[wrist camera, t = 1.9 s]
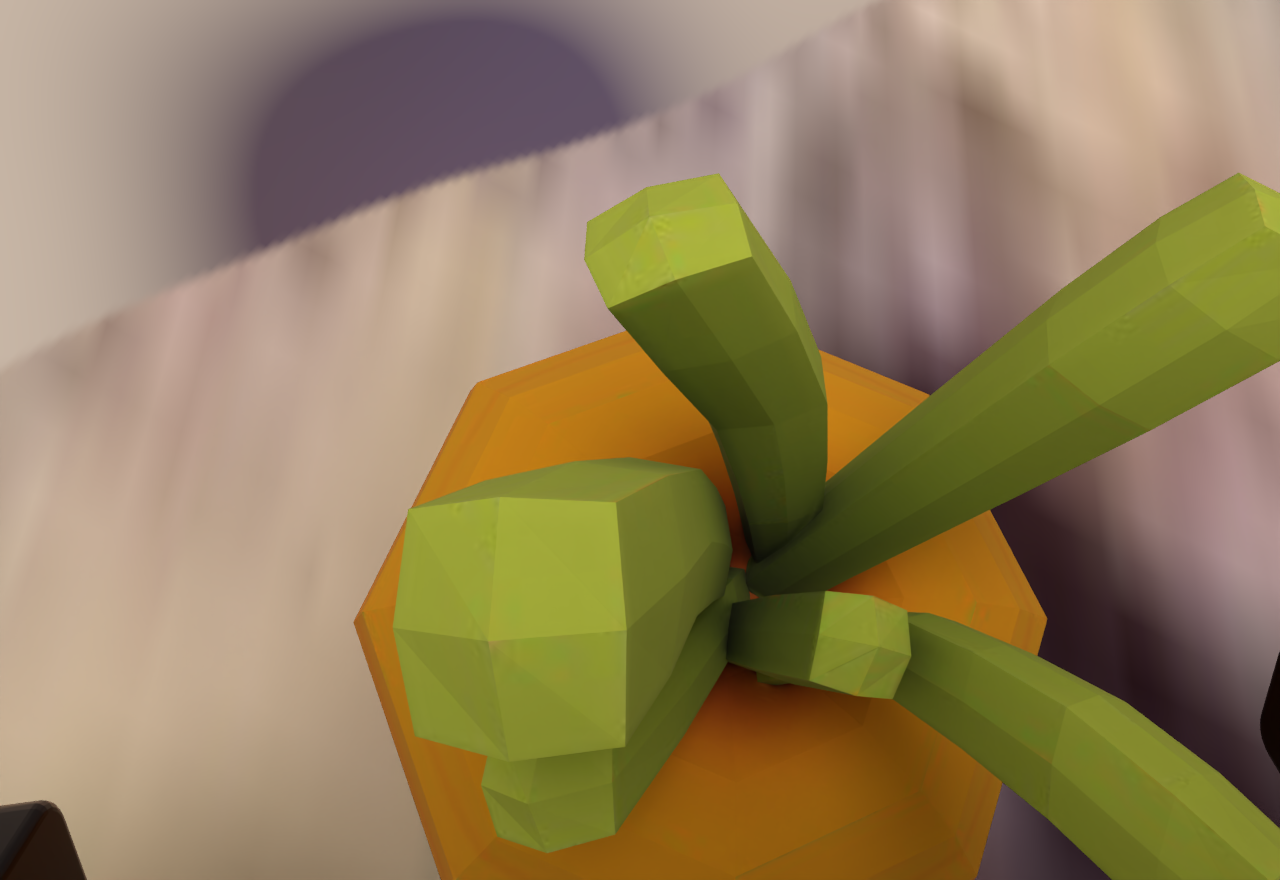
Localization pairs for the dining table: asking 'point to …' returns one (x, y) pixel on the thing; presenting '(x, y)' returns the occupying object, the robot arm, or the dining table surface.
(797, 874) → the carrot
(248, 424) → the dining table surface
